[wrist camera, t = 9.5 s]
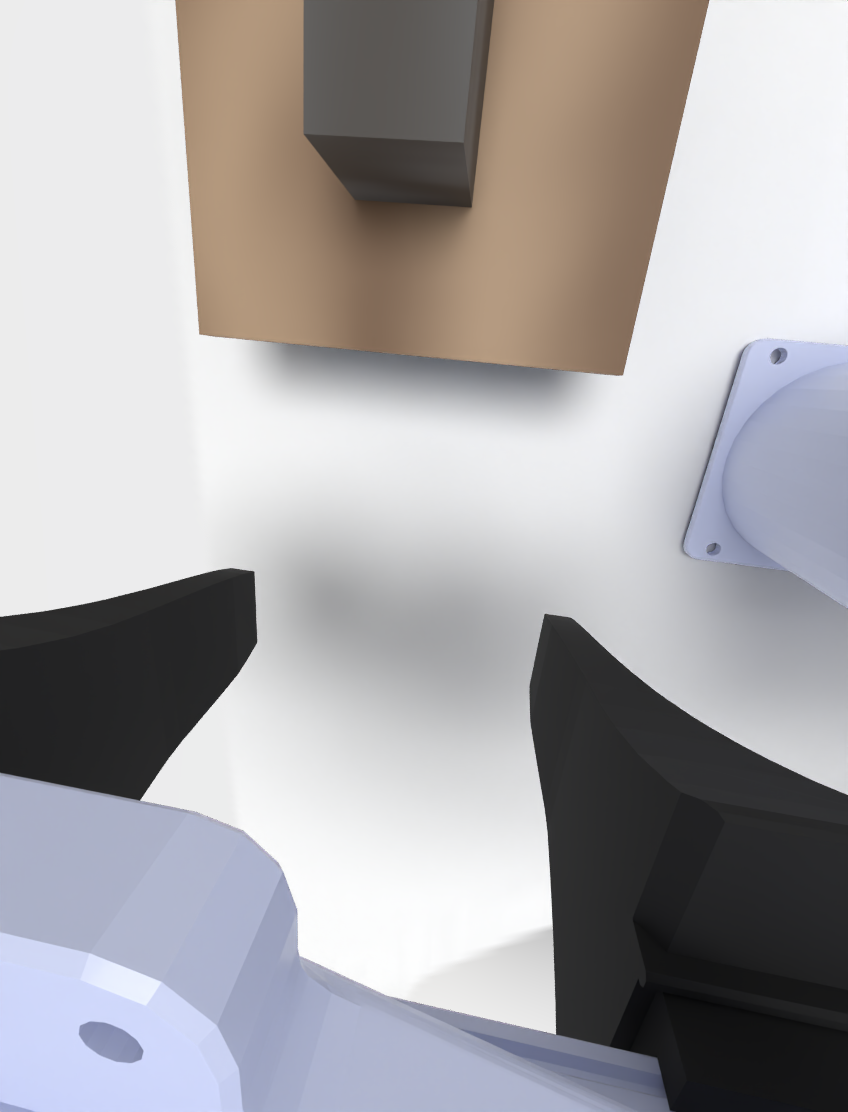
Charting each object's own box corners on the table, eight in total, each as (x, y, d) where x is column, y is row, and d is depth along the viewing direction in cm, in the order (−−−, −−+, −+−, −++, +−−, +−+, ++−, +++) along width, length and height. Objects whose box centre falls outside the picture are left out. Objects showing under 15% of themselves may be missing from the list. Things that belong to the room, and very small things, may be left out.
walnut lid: (767, -297, 9) (984, -832, 5) (615, 375, 13) (667, 374, 9) (176, -277, 10) (-30, -701, 6) (214, 336, 14) (108, 320, 11)
